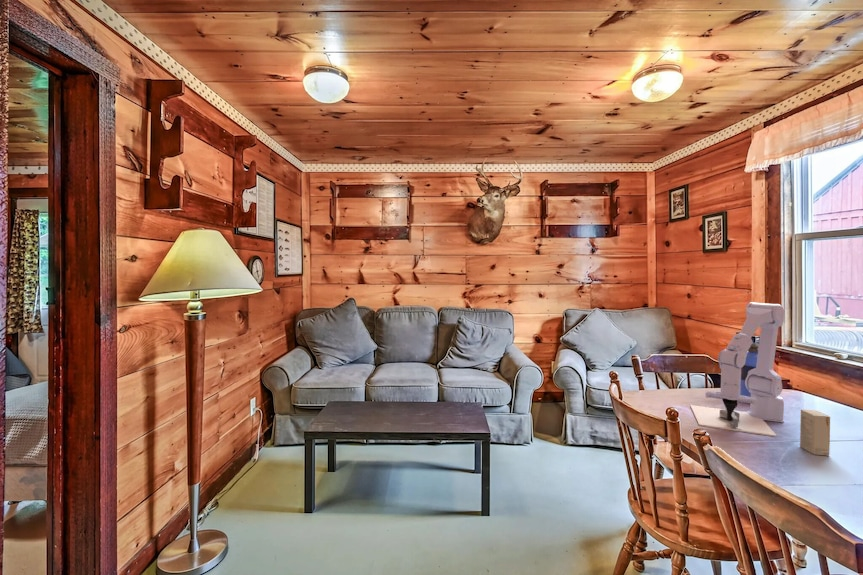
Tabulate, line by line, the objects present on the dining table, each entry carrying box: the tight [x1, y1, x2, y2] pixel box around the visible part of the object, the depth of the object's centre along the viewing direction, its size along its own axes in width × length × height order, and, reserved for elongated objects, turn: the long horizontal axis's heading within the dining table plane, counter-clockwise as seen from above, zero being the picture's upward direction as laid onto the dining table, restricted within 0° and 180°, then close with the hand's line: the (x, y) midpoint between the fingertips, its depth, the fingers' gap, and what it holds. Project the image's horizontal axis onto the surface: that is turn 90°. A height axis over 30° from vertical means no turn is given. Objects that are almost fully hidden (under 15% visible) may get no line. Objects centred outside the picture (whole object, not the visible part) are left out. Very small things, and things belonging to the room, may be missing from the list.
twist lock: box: [720, 409, 740, 427], centre depth 146 cm, size 13×6×3 cm, turn 153°
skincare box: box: [799, 409, 831, 456], centre depth 123 cm, size 6×4×12 cm
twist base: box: [690, 404, 777, 438], centre depth 149 cm, size 22×22×1 cm
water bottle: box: [740, 342, 767, 397], centre depth 170 cm, size 9×9×25 cm
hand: (729, 419), depth 143 cm, fingers closed, pressing on twist lock
